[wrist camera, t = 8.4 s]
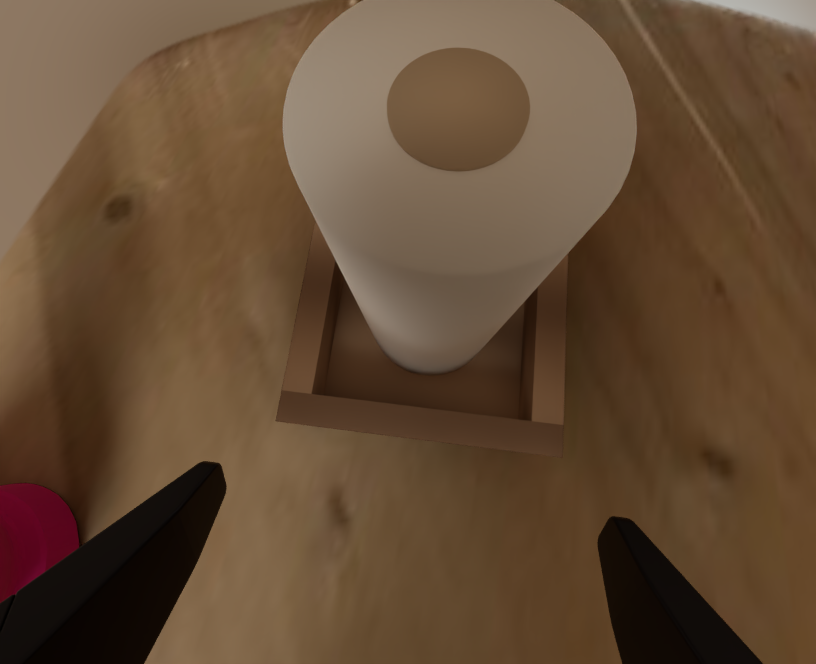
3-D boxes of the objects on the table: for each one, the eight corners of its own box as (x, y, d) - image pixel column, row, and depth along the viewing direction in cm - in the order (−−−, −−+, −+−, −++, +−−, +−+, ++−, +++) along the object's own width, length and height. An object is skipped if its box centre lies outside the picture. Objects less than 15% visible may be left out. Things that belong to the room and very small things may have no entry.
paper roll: (451, 399, 17) (534, 346, 5) (348, 335, 17) (207, 157, 6) (511, 298, 18) (698, 53, 6) (411, 241, 18) (402, -73, 7)
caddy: (537, 451, 17) (562, 457, 14) (298, 421, 18) (275, 421, 15) (546, 230, 20) (569, 197, 17) (337, 210, 20) (324, 174, 17)
